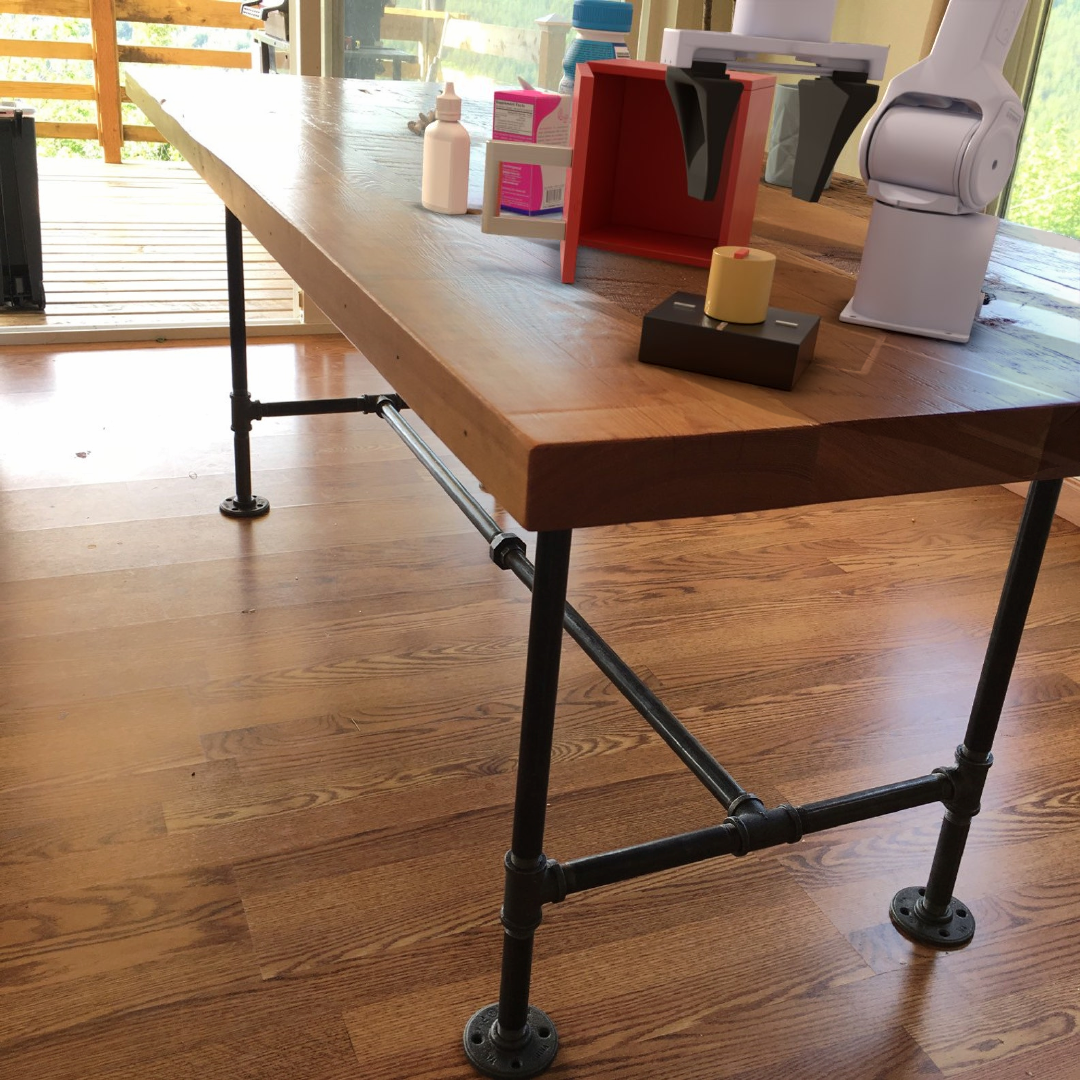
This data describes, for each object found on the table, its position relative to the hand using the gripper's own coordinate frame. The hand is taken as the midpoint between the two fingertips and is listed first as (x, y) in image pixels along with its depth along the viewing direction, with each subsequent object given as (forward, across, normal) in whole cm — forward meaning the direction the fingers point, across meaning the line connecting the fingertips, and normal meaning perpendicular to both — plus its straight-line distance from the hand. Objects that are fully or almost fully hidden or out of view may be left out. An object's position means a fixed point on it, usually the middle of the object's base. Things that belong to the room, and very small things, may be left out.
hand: (753, 199), depth 70 cm
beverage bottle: (+11, +20, +65) cm, 69 cm away
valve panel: (+10, 0, 0) cm, 10 cm away
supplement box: (+11, +6, +50) cm, 51 cm away
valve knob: (+7, 0, 0) cm, 7 cm away
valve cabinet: (+10, +12, +32) cm, 36 cm away
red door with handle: (+10, -3, +28) cm, 30 cm away
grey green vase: (+11, +53, +69) cm, 87 cm away
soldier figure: (+11, +14, +108) cm, 109 cm away
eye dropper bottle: (+11, -4, +49) cm, 50 cm away
